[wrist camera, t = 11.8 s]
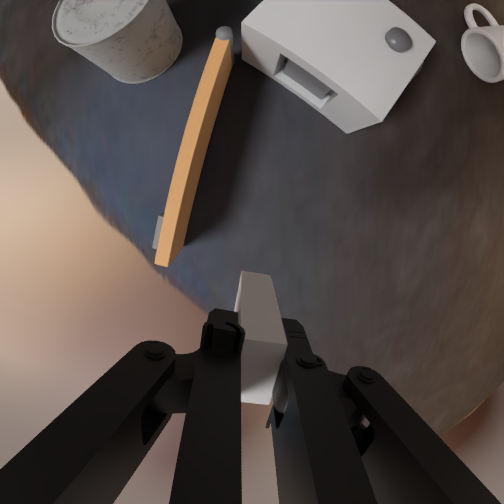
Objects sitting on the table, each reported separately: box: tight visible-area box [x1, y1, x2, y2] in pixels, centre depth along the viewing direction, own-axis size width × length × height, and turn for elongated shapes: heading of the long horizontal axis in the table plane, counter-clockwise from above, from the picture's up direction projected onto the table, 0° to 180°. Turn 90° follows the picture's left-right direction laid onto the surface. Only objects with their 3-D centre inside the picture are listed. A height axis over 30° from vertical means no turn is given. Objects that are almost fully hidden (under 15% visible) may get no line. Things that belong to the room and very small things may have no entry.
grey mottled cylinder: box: [52, 0, 183, 84], centre depth 21 cm, size 10×10×12 cm
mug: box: [461, 3, 504, 83], centre depth 22 cm, size 12×10×8 cm
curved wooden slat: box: [152, 26, 235, 267], centre depth 26 cm, size 22×2×7 cm, turn 165°
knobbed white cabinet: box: [241, 0, 436, 134], centre depth 23 cm, size 15×12×10 cm
